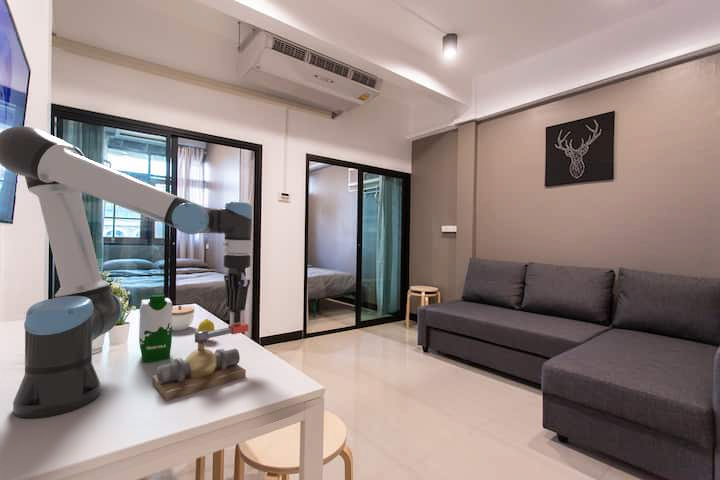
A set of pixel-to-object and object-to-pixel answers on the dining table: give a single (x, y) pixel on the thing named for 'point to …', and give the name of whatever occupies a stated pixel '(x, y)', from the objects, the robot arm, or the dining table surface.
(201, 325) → the lemon
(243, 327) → the lever
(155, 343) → the milk carton
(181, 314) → the lidded jar
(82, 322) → the robot arm
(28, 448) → the dining table surface
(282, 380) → the dining table surface
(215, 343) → the dining table surface
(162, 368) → the valve rig
